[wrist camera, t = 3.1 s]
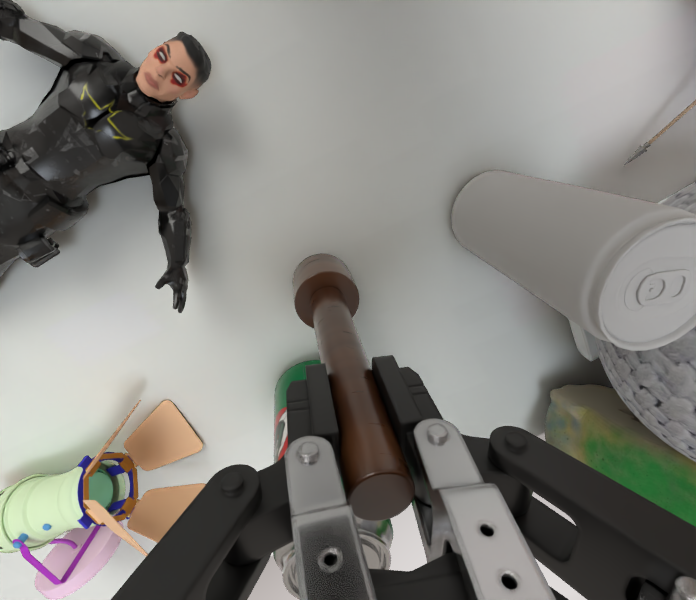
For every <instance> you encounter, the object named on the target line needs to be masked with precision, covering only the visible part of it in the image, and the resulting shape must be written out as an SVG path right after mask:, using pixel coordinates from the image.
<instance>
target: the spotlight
mask: <svg viewBox="0 0 696 600" xmlns="http://www.w3.org/2000/svg"><path fill="white" fill-rule="evenodd" d="M140 401H141V400H139V402H140ZM139 402H138V403H137V404H136V406H135V407H134V408H133V409H132V411H131V412H130V413H129V414H128V416H127V417H126V418H125V420H124V421H123V422H122V423H121V425H120V426H119V427H118V429H117V430H116V431H115V432H114V434H113V435H112V436H111V438H110V439H109V440H108V441H107V443H106V444H105V445H104V446H103V448H102V449H101V450H100V452H99V453H98V454H97V456H95V457H94V458H92V459H91V458H90V457H89V456H85V457H84V458H83V460H82V461H81V462H80V463H79V465H78V466H77V467H76V468H74V469H73V470H72V471H69V472H66V473H63V474H60V475H56V474H55V475H48V474H35V475H31V476H28V477H26V478H24V479H22V480H21V481H19V482H18V483H17V484H15V485H12V486H9V487H7V488H5V489H4V490H2V491H1V492H0V552H3V553H13V552H17V551H21V553H22V556H23V557H24V558H25V559H26V560H27V561H28V562H29V563H31V564H32V565H33V566H34V567H35V568H36V569H37V570H38V572H37V575H36V578H35V587H36V589H37V590H38V591H39V592H41V593H42V594H43V595H44V596H45V597H46V598H48V599H50V600H57V599H61V598H64V597H66V596H68V595H70V594H72V593H73V592H75V591H77V590H78V589H80V588H81V587H82V586H84V585H85V584H86V583H87V582H88V581H90V580H91V579H92V578H93V577H94V576H95V575H96V574H97V573H98V572H99V571H100V570H101V569H102V568H103V567H104V565H105V564H106V563H107V562H108V561H109V559H110V558H111V557H112V555H113V554H114V552H115V551H116V549H117V547H118V545H119V543H120V541H121V539H123V540H125V541H126V542H127V543H129V544H130V545H131V546H133V547H134V548H136V549H137V550H138V551H140V552H141V553H142V554H144V555H145V556H146V557H147V555H148V554H147V553H146V552H145V551H144V550H143V549H142V547H141V546H140V545H139V544H138V543H137V542H136V541H135V540H134V539H133V538H132V537H131V536H130V535H129V534H128V533H127V532H126V531H125V529H124V526H123V523H122V522H121V520H125V518H126V519H129V518H130V517H131V518H130V519H129V521H128V524H127V527H128V528H129V529H130V530H132V531H134V532H136V533H138V534H141V535H143V536H145V537H147V538H149V539H151V540H153V541H155V542H157V543H158V542H159V541H160V540H161V538H162V537H163V536H164V535H165V534H166V532H167V531H168V530H169V529H170V528H171V526H172V525H173V524H174V523H175V522H176V520H177V519H178V518H179V517H180V515H181V514H182V513H183V512H184V511H185V509H186V508H187V507H188V506H189V505H190V503H191V502H192V501H193V500H194V499H195V497H196V496H197V495H198V494H199V492H200V491H201V490H202V489H203V488H204V486H205V485H206V484H204V483H200V484H191V485H183V486H174V487H166V488H157V489H152V490H149V491H147V492H146V493H145V494H144V495H143V497H142V498H141V500H139V499H137V498H138V481H137V469H136V468H135V467H137V466H138V465H139V466H140V467H141V468H142V469H143V470H145V471H149V470H154V469H156V468H159V467H161V466H164V465H166V464H169V463H172V462H174V461H177V460H179V459H182V458H185V457H187V456H190V455H192V454H195V453H198V452H199V451H201V450H202V447H203V443H202V442H201V440H200V439H199V438H198V436H197V435H196V434H195V432H194V431H193V430H192V428H191V427H190V426H189V424H188V423H187V421H186V420H185V419H184V417H183V416H182V415H181V413H180V412H179V411H178V409H177V408H176V407H175V405H174V404H173V402H171V401H168V400H165V401H163V402H162V403H161V404H160V405H159V406H158V407H157V408H156V409H155V410H154V411H153V412H152V413H151V414H150V415H149V417H148V418H147V419H146V420H145V421H144V422H143V423H142V424H141V425H140V426H139V427H138V428H137V429H136V430H135V431H134V432H133V433H132V434H131V436H130V437H129V438H128V439H127V440H126V441H125V443H124V448H125V449H126V450H127V451H128V453H125V454H123V453H114V452H106V453H104V452H105V451H106V449H107V448H108V447H109V445H110V444H111V442H112V441H113V440H114V438H115V437H116V435H117V434H118V432H119V431H120V430H121V428H122V427H123V425H124V424H125V422H126V421H127V420H128V418H129V417H130V415H131V414H132V412H133V411H134V409H135V408H136V407H137V405H138V404H139ZM103 460H115V461H117V462H119V463H118V464H119V465H117V466H116V465H115V464H114V463H112V462H109V461H103ZM133 462H134V463H135V464H134V463H133ZM124 472H126V473H128V476H129V480H130V492H129V497H128V498H127V499H124V496H125V480H124V476H123V474H122V473H124ZM137 502H138V503H137ZM136 503H137V504H136ZM135 505H136V506H135ZM119 509H120V512H119V513H118V514H116V515H115V513H116V512H117V511H118V510H119ZM71 529H72V530H71ZM68 530H71V531H70V532H69V533H68V534H67V535H66V536H64V537H63V538H62V539H55V538H56V537H58V536H59V535H61V534H63V533H64V532H65V531H68ZM55 543H58V544H57V545H56V546H55V547H54V548H53V549H52V550H51V552H50V553H49V554H48V556H47V557H46V558H45V560H44V561H43V563H42V564H41V563H40V562H39V561H38V560H37V559H35V558H34V557H33V556H32V555H31V554H30V551H33V550H37V549H40V548H42V547H44V546H46V545H47V544H55Z"/></svg>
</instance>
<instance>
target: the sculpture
mask: <svg viewBox="0 0 696 600" xmlns="http://www.w3.org/2000/svg"><path fill="white" fill-rule="evenodd" d="M550 398H551V401H552V402H551V404H550V406H549V409H548V411H547V414H546V418H545V439H546V442H547V443H549V444H551V445H552V446H554V447H556V448H558V449H559V450H561V451H563V452H565V453H566V454H568V455H570V456H572V457H573V458H575V459H577V460H579V461H581V462H582V463H584V464H586V465H588V466H589V467H591V468H593V469H595V470H596V471H598V472H600V473H602V474H603V475H605V476H607V477H609V478H610V479H612V480H614V481H616V482H618V483H619V484H621V485H623V486H625V487H626V488H628V489H630V490H632V491H633V492H635V493H637V494H639V495H640V496H642V497H644V498H646V499H647V500H649V501H651V502H653V503H655V504H656V505H658V506H660V507H662V508H663V509H665V510H667V511H669V512H670V513H672V514H674V515H676V516H677V517H679V518H681V519H683V520H684V521H686V522H688V523H690V524H692V525H693V526H695V527H696V462H695V461H693V460H691V459H690V458H688V457H686V456H685V455H683V454H681V453H680V452H678V451H677V450H675V449H674V448H672V447H671V446H669V445H668V444H667V443H665V442H664V441H663V440H661V439H660V438H659V437H658V436H656V435H655V434H654V433H653V432H652V431H650V430H649V429H648V428H647V427H646V426H645V425H644V424H643V423H642V422H641V421H640V420H639V419H638V418H637V417H636V416H635V415H634V414H633V413H632V411H631V410H630V409H629V408H628V407H627V405H626V404H625V403H624V402H623V400H622V399H621V398H620V396H619V395H618V393H617V392H616V390H615V389H614V388H609V387H605V386H600V385H594V384H586V385H564V386H563V387H562V388H560V389H553V390H551V392H550Z"/></svg>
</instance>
